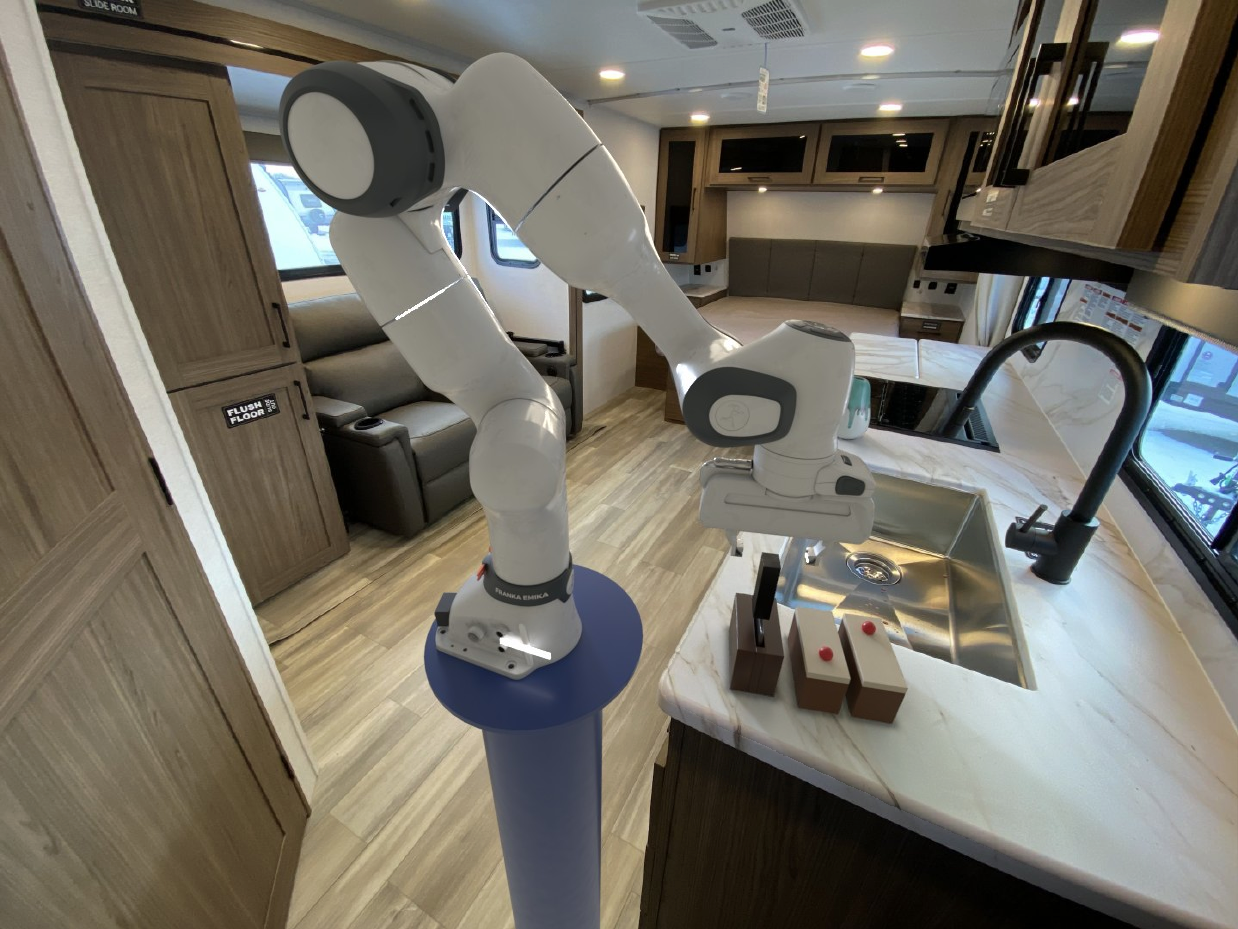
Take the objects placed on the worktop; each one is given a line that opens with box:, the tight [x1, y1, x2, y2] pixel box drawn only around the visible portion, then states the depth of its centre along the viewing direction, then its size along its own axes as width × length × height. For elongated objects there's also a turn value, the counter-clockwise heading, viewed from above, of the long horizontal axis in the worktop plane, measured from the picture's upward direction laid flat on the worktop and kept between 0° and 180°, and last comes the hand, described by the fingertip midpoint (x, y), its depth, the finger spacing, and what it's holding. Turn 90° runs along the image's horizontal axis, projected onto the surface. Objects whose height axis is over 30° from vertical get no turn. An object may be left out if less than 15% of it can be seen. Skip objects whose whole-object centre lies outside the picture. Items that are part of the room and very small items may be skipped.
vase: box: [837, 375, 872, 440], centre depth 143 cm, size 12×12×18 cm
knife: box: [752, 551, 782, 647], centre depth 68 cm, size 2×8×19 cm, turn 169°
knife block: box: [728, 592, 785, 698], centre depth 71 cm, size 6×11×8 cm, turn 170°
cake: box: [786, 605, 909, 725], centre depth 69 cm, size 12×12×8 cm
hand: (773, 558), depth 64 cm, fingers open, 8 cm apart
